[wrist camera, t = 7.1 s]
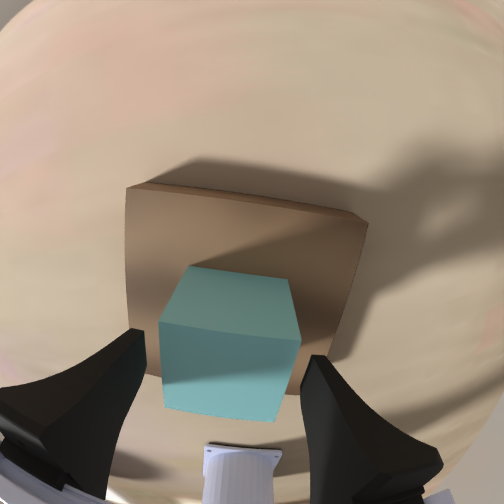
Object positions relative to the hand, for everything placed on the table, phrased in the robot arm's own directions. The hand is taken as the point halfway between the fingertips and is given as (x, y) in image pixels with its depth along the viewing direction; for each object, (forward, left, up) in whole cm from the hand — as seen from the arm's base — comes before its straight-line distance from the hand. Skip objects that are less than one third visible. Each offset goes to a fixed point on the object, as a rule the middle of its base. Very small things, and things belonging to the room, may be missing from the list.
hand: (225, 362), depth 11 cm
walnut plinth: (0, 0, -6) cm, 6 cm away
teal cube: (0, 0, -4) cm, 4 cm away
